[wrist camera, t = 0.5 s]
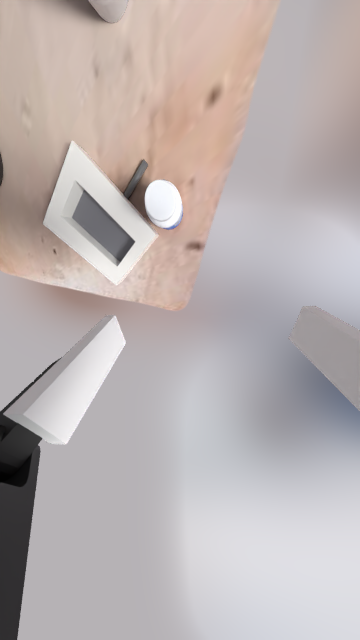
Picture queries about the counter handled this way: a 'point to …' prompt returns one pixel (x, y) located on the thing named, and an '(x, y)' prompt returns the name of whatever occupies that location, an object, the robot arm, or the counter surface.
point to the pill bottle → (163, 204)
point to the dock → (98, 216)
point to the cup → (110, 9)
